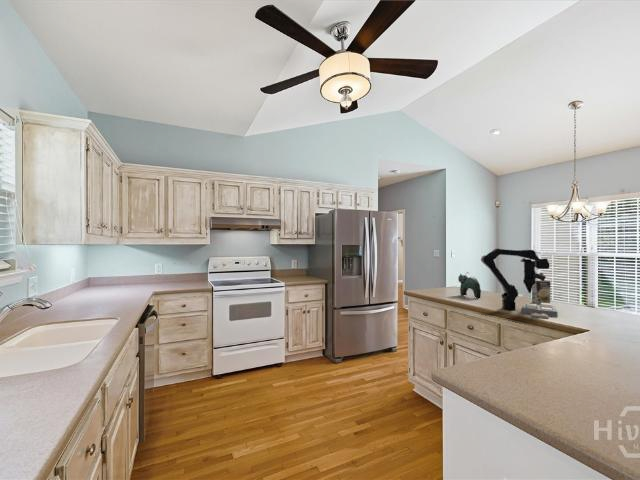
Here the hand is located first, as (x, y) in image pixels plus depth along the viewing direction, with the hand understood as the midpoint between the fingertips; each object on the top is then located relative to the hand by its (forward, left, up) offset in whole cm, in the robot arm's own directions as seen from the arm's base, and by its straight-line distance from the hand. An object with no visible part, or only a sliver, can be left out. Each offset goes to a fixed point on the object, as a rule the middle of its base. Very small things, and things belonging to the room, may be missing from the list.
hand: (529, 292), depth 196 cm
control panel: (+3, -6, -11) cm, 13 cm away
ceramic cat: (-24, +45, -11) cm, 52 cm away
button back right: (+7, -4, -8) cm, 12 cm away
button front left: (-2, -8, -9) cm, 12 cm away
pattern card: (-3, -18, -11) cm, 22 cm away
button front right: (+5, -11, -10) cm, 15 cm away
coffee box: (+18, +25, -11) cm, 33 cm away
